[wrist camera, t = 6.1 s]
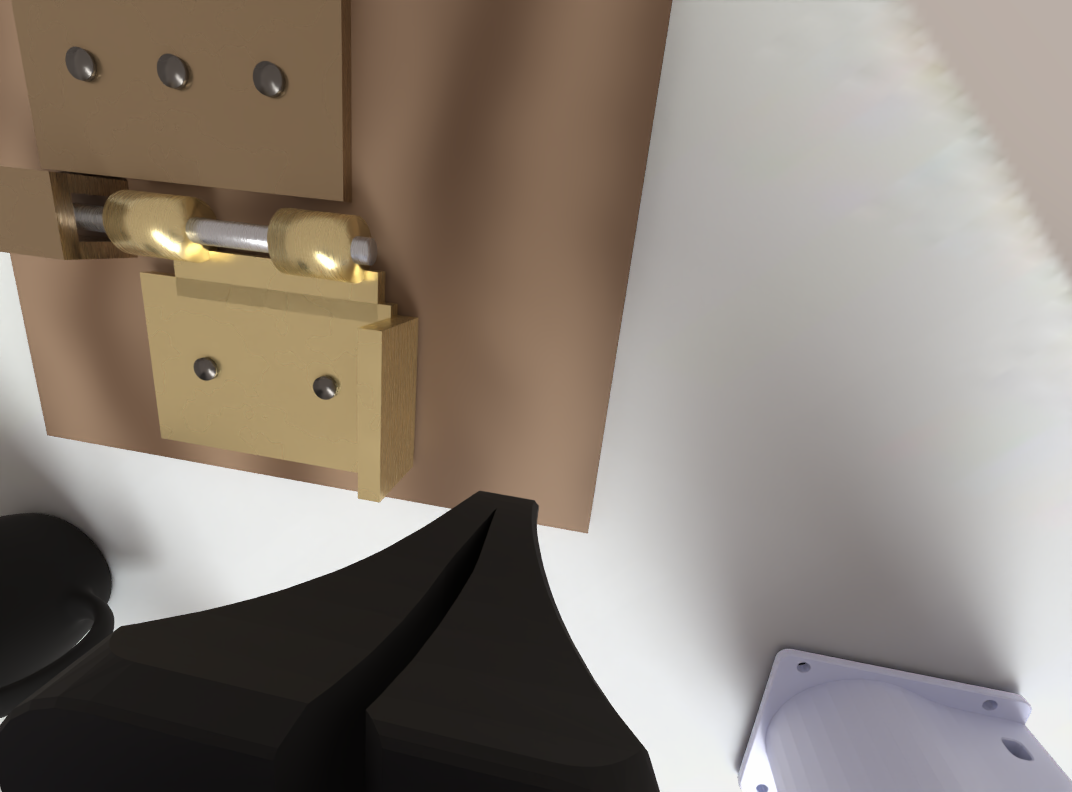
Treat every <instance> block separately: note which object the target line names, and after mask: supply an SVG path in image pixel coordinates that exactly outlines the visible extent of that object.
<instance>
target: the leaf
mask: <svg viewBox="0 0 1072 792" xmlns="http://www.w3.org/2000/svg"><path fill="white" fill-rule="evenodd" d="M72 204H73V210H74V216H75V222H76V228H77V229H81V230H89V231H97V232H105V233H106V234H107V236H108V237H109V239H110V240H111V242H112V243H113V244H114V245H115V246H116V247H117V248H119V249H120V250H122V251H123V252H125V253H128V254H132V255H140V256H148V257H155V258H163V259H171V260H173V261H174V270H175V274H171V273H163V272H156V271H149V272H140V279H141V287H142V294H143V302H144V309H145V317H146V325H147V332H148V340H149V347H150V355H151V363H152V370H153V378H154V385H155V393H156V401H157V408H158V416H159V423H160V431H161V438H164V439H169V440H175V441H181V442H186V443H192V444H197V445H203V446H209V447H214V448H220V449H226V450H231V451H237V452H243V453H248V454H254V455H260V456H265V457H271V458H276V459H282V460H288V461H293V462H299V463H305V464H310V465H316V466H322V467H327V468H333V469H339V470H344V471H350V472H355V473H358V499H364V500H369V501H375V502H381V500H382V499H383V498H384V497H385V496H386V495H387V494H388V493H389V492H390V491H391V490H392V489H393V487H394V486H395V485H396V484H397V483H398V482H399V481H400V480H401V479H402V478H403V477H404V476H405V475H406V473H407V472H408V471H409V470H410V469H411V468H412V467H413V461H414V432H415V404H416V375H417V346H418V317H411V316H403V315H398V304H396V303H388V302H385V271H378V270H370V266H372V265H373V264H374V263H375V261H376V258H377V244H376V242H375V240H374V239H373V238H371V233H370V230H369V227H368V225H367V223H366V222H365V220H364V219H363V218H362V217H360V216H357V215H348V214H339V213H330V212H321V211H312V210H303V209H295V208H281V209H279V210H278V211H277V212H276V213H275V214H274V215H273V217H272V218H271V221H270V223H269V226H267V225H258V224H250V223H241V222H233V221H224V220H217V218H216V216H215V214H214V212H213V211H212V209H211V208H210V207H209V205H207V204H206V203H205V202H204V201H202V200H201V199H198V198H195V197H188V196H179V195H170V194H161V193H152V192H143V191H135V190H120V191H117V192H115V193H113V194H112V195H111V196H110V197H109V198H108V199H107V201H106V202H105V205H104V206H97V205H88V204H80V203H72ZM218 247H225V248H233V249H241V250H249V251H257V252H265V253H269V255H270V257H267V256H259V255H251V254H243V253H235V252H227V251H219V250H217V248H218Z"/></svg>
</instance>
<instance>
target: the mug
mask: <svg viewBox="0 0 1072 792" xmlns="http://www.w3.org/2000/svg"><path fill="white" fill-rule="evenodd" d="M110 594H111V576H110V572H109V569H108V566H107V564H106V561H105V559H104V558H103V556H102V554H101V553H100V551H99V550H98V548H97V547H96V546H95V544H94V543H93V542H92V541H91V540H90V539H89V538H88V537H87V536H86V535H85V534H84V533H83V532H81V531H80V530H79V529H77V528H76V527H75V526H73V525H71V524H70V523H68V522H66V521H64V520H62V519H60V518H57V517H54V516H50V515H45V514H37V513H27V514H14V515H7V516H1V517H0V718H2V717H5V716H7V715H8V714H9V713H10V712H11V710H12V709H14V708H15V707H16V706H17V705H19V704H20V703H21V702H23V701H24V700H25V699H27V698H28V697H29V696H30V695H32V694H33V693H34V692H36V691H37V690H38V689H40V688H41V687H42V686H44V685H45V684H46V683H47V682H49V681H50V680H51V679H53V678H54V677H55V676H57V675H58V674H59V673H60V672H62V671H63V670H64V669H66V668H67V667H68V666H70V665H71V664H72V663H73V662H75V661H76V660H77V659H79V658H80V657H81V656H83V655H84V654H85V653H86V652H88V651H89V650H90V649H92V648H93V647H94V646H96V645H97V644H98V643H100V642H101V641H102V640H103V639H105V638H106V637H107V636H109V635H110V634H111V633H113V629H114V616H113V612H112V611H111V609H110V607H109V606H108V604H107V603H108V601H109V598H110ZM91 627H92V628H91ZM89 630H90V631H89ZM88 631H89V632H88ZM87 632H88V633H87ZM86 633H87V635H86V636H85V637H84V638H83V636H84V635H85V634H86ZM82 638H83V639H82ZM81 639H82V640H81ZM80 640H81V641H80ZM79 641H80V642H79ZM78 642H79V643H78ZM77 643H78V644H77ZM76 644H77V645H76Z"/></svg>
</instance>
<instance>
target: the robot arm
mask: <svg viewBox="0 0 1072 792" xmlns="http://www.w3.org/2000/svg"><path fill="white" fill-rule="evenodd" d="M538 511H539V505H538V504H537V503H536V501H535V500H531V499H525V498H519V497H514V496H508V495H502V494H497V493H491V492H485V491H478V492H476V493H475V494H473V495H472V496H470V497H469V498H467V499H466V500H464V501H463V502H461V503H460V504H458V505H457V506H455V507H454V508H452V509H451V510H449V511H448V512H446V513H445V514H443V515H442V516H440V517H439V518H437V519H436V520H434V521H433V522H431V523H429V524H428V525H426V526H425V527H423V528H421V529H420V530H418V531H416V532H414V533H412V534H411V535H409V536H407V537H405V538H404V539H402V540H400V541H398V542H397V543H395V544H393V545H391V546H389V547H388V548H386V549H384V550H382V551H380V552H378V553H376V554H374V555H371V556H369V557H367V558H365V559H363V560H361V561H358V562H356V563H354V564H351V565H349V566H347V567H345V568H342V569H340V570H337V571H335V572H332V573H329V574H327V575H324V576H321V577H318V578H315V579H313V580H310V581H307V582H304V583H301V584H298V585H296V586H293V587H290V588H287V589H284V590H281V591H278V592H274V593H271V594H267V595H264V596H260V597H257V598H253V599H250V600H246V601H242V602H238V603H234V604H230V605H226V606H222V607H218V608H214V609H209V610H205V611H201V612H195V613H190V614H185V615H180V616H175V617H170V618H164V619H159V620H154V621H149V622H144V623H138V624H132V625H126V626H121V627H119V628H118V629H117V630H115V631H114V632H113V633H111V634H110V635H109V636H107V637H106V638H105V639H103V640H102V641H101V642H100V643H98V644H97V645H96V646H94V647H93V648H92V649H90V650H89V651H88V652H86V653H85V654H84V655H83V656H81V657H80V658H79V659H77V660H76V661H75V662H73V663H72V664H71V665H70V666H68V667H67V668H66V669H64V670H63V671H62V672H60V673H59V674H58V675H57V676H55V677H54V678H53V679H51V680H50V681H49V682H47V683H46V684H45V685H44V686H42V687H41V688H40V689H38V690H37V691H36V692H34V693H33V694H32V695H30V696H29V697H28V698H27V699H25V700H24V701H23V702H21V703H20V704H19V705H17V706H16V707H15V708H14V709H12V710H11V712H10V713H9V714H8V716H7V717H6V718H5V720H4V721H3V722H2V724H1V725H0V787H1V791H2V792H660V791H659V787H658V784H657V781H656V777H655V774H654V770H653V767H652V764H651V761H650V757H649V754H648V751H647V750H646V749H645V747H644V746H643V745H642V744H641V742H640V741H639V740H638V739H637V737H636V736H635V735H634V734H633V732H632V731H631V730H630V729H629V727H628V726H627V725H626V724H625V722H624V721H623V720H622V719H621V717H620V716H619V715H618V713H617V712H616V711H615V709H614V708H613V707H612V705H611V704H610V702H609V701H608V699H607V698H606V696H605V695H604V693H603V692H602V690H601V689H600V687H599V686H598V684H597V683H596V681H595V680H594V678H593V676H592V675H591V673H590V671H589V669H588V668H587V666H586V664H585V662H584V661H583V659H582V657H581V655H580V654H579V652H578V650H577V648H576V647H575V645H574V643H573V641H572V639H571V637H570V635H569V633H568V631H567V629H566V627H565V625H564V623H563V620H562V618H561V616H560V613H559V611H558V609H557V606H556V604H555V601H554V598H553V596H552V593H551V590H550V587H549V584H548V580H547V577H546V574H545V570H544V566H543V562H542V558H541V553H540V548H539V543H538V536H537V519H538ZM802 662H806V664H804V665H798V664H799V663H802ZM987 700H988V701H987ZM985 701H986V702H985ZM1031 710H1032V708H1031V705H1030V704H1029V703H1028V702H1027V701H1026V700H1025V698H1023V697H1022V696H1021V695H1018V694H1015V693H1010V692H1005V691H1000V690H995V689H990V688H985V687H980V686H975V685H970V684H965V683H960V682H955V681H950V680H945V679H940V678H935V677H930V676H925V675H920V674H915V673H910V672H905V671H900V670H895V669H890V668H885V667H880V666H875V665H870V664H865V663H860V662H855V661H850V660H845V659H840V658H835V657H830V656H825V655H820V654H815V653H810V652H805V651H800V650H795V649H783V650H781V651H779V652H778V653H777V655H776V657H775V660H774V663H773V666H772V670H771V673H770V676H769V679H768V682H767V685H766V688H765V692H764V695H763V698H762V701H761V704H760V707H759V710H758V714H757V717H756V720H755V723H754V726H753V729H752V732H751V736H750V739H749V742H748V745H747V748H746V751H745V754H744V758H743V761H742V764H741V767H740V770H739V773H738V783H739V786H740V788H741V789H742V790H743V791H745V792H1072V781H1071V780H1070V779H1069V777H1068V776H1067V775H1066V774H1065V773H1064V771H1063V770H1062V769H1061V768H1060V767H1059V765H1058V764H1057V763H1056V762H1055V761H1054V759H1053V758H1052V757H1051V756H1050V755H1049V753H1048V752H1047V751H1046V750H1045V749H1044V747H1043V746H1042V745H1041V744H1040V743H1039V741H1038V740H1037V739H1036V738H1035V737H1034V735H1033V734H1032V733H1031V732H1030V731H1029V729H1028V728H1027V727H1026V726H1025V723H1026V721H1027V719H1028V717H1029V715H1030V714H1031Z"/></svg>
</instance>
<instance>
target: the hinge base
mask: <svg viewBox="0 0 1072 792" xmlns="http://www.w3.org/2000/svg"><path fill="white" fill-rule="evenodd" d="M11 2H12V8H13V14H14V19H15V25H16V30H17V36H18V42H19V47H20V53H21V58H22V64H23V69H24V75H25V81H26V86H27V92H28V97H29V103H30V109H31V114H32V120H33V125H34V131H35V137H36V142H37V148H38V153H39V159H40V165H41V169H49V170H57V171H66V172H75V173H84V174H94V175H103V176H112V177H121V178H130V179H139V180H148V181H157V182H167V183H176V184H185V185H194V186H203V187H212V188H221V189H231V190H240V191H249V192H258V193H267V194H276V195H285V196H295V197H304V198H313V199H322V200H331V201H340V202H349V203H352V107H351V0H11ZM120 190H129V186H128V181H123V180H115V179H107V178H99V177H90V176H82V175H74V174H66V173H58V172H50V171H41V170H32V169H22V168H13V167H4V166H0V252H7V253H15V254H22V255H30V256H37V257H45V258H52V259H59V260H82V259H112V258H138V255H132V254H128V253H125V252H123V251H122V250H120V249H119V248H117V247H116V246H115V245H114V244H113V243H112V242H111V240H110V239H109V238H102V237H94V236H86V235H78V234H77V228H76V222H75V216H74V210H73V204H72V198H71V193H79V194H90V195H101V196H111V195H112V194H113V193H115V192H117V191H120Z"/></svg>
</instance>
